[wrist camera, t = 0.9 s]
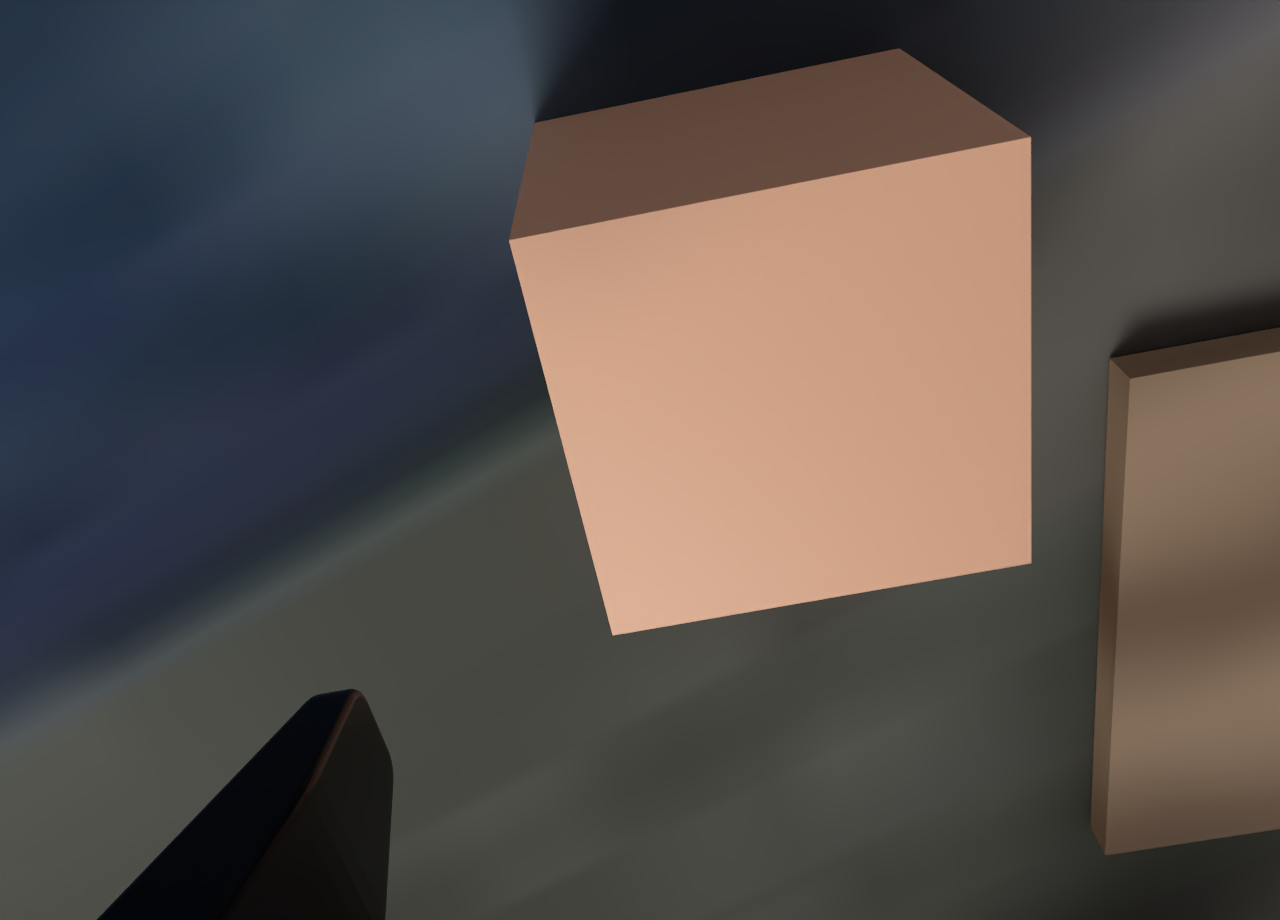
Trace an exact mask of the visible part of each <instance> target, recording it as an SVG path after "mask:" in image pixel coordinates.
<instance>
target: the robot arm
mask: <svg viewBox="0 0 1280 920" xmlns="http://www.w3.org/2000/svg"><path fill="white" fill-rule="evenodd" d="M392 796H393V767H392V761H391V757H390V754H389V751H388V749H387V746H386V744H385V742H384V739H383V737H382V735H381V732H380V730H379V728H378V725H377V723H376V721H375V718H374V716H373V714H372V712H371V709H370V707H369V705H368V702H367V700H366V698H365V697H364V696H363V694H362V693H361V692H360V691H357V690H355V689H347V690H341V691H335V692H330V693H324V694H319V695H316V696H313V697H312V698H310V699H309V700H308V701H307V702H306V703H305V704H304V705H303V706H302V707H301V708H300V709H299V710H298V711H297V712H296V713H295V714H294V715H293V716H292V717H291V718H290V719H289V720H288V721H287V722H286V723H285V724H284V725H283V726H282V728H281V729H280V730H279V731H278V732H277V733H276V734H275V735H274V736H273V737H272V738H271V739H270V740H269V741H268V742H267V743H266V744H265V745H264V746H263V747H262V748H261V749H260V750H259V751H258V752H257V754H256V755H255V756H254V757H253V758H252V759H251V760H250V761H249V762H248V763H247V764H246V765H245V766H244V767H243V768H242V769H241V770H240V771H239V772H238V773H237V774H236V775H235V776H234V777H233V778H232V780H231V781H230V782H229V783H228V784H227V785H226V786H225V787H224V788H223V789H222V790H221V791H220V792H219V793H218V794H217V795H216V796H215V797H214V798H213V799H212V800H211V801H210V802H209V803H208V804H207V806H206V807H205V808H204V809H203V810H202V811H201V812H200V813H199V814H198V815H197V816H196V817H195V818H194V819H193V820H192V821H191V822H190V823H189V824H188V825H187V826H186V827H185V828H184V829H183V830H182V832H181V833H180V834H179V835H178V836H177V837H176V838H175V839H174V840H173V841H172V842H171V843H170V844H169V845H168V846H167V847H166V848H165V849H164V850H163V851H162V852H161V853H160V854H159V855H158V856H157V858H156V859H155V860H154V861H153V862H152V863H151V864H150V865H149V866H148V867H147V868H146V869H145V870H144V871H143V872H142V873H141V874H140V875H139V876H138V877H137V878H136V879H135V880H134V881H133V882H132V884H131V885H130V886H129V887H128V888H127V889H126V890H125V891H124V892H123V893H122V894H121V895H120V896H119V897H118V898H117V899H116V900H115V901H114V902H113V903H112V904H111V905H110V906H109V907H108V908H107V910H106V911H105V912H104V913H103V914H102V915H101V916H100V917H99V918H98V919H97V920H385V916H386V899H387V882H388V865H389V848H390V830H391V813H392Z"/></svg>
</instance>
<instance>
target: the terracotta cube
mask: <svg viewBox="0 0 1280 920" xmlns="http://www.w3.org/2000/svg"><path fill="white" fill-rule="evenodd" d="M509 242H510V246H511V250H512V254H513V257H514V261H515V265H516V269H517V273H518V276H519V280H520V284H521V288H522V292H523V295H524V299H525V303H526V307H527V311H528V315H529V318H530V322H531V326H532V330H533V334H534V337H535V341H536V345H537V349H538V353H539V356H540V360H541V364H542V368H543V372H544V375H545V379H546V383H547V387H548V391H549V395H550V398H551V402H552V406H553V410H554V414H555V417H556V421H557V425H558V429H559V433H560V436H561V440H562V444H563V448H564V452H565V455H566V459H567V463H568V467H569V471H570V474H571V478H572V482H573V486H574V490H575V494H576V497H577V501H578V505H579V509H580V513H581V516H582V520H583V524H584V528H585V532H586V535H587V539H588V543H589V547H590V551H591V554H592V558H593V562H594V566H595V570H596V574H597V577H598V581H599V585H600V589H601V593H602V596H603V600H604V604H605V608H606V612H607V615H608V619H609V623H610V627H611V631H612V634H613V635H618V634H624V633H630V632H635V631H641V630H647V629H653V628H659V627H664V626H670V625H676V624H682V623H688V622H693V621H699V620H705V619H711V618H717V617H722V616H728V615H734V614H740V613H746V612H751V611H757V610H763V609H769V608H775V607H780V606H786V605H792V604H798V603H803V602H809V601H815V600H821V599H827V598H832V597H838V596H844V595H850V594H856V593H861V592H867V591H873V590H879V589H885V588H890V587H896V586H902V585H908V584H914V583H919V582H925V581H931V580H937V579H943V578H948V577H954V576H960V575H966V574H972V573H977V572H983V571H989V570H995V569H1001V568H1006V567H1012V566H1018V565H1024V564H1029V563H1031V137H1030V136H1029V135H1027V134H1026V133H1024V132H1023V131H1021V130H1020V129H1018V128H1017V127H1015V126H1014V125H1013V124H1011V123H1010V122H1008V121H1007V120H1005V119H1004V118H1002V117H1001V116H999V115H998V114H996V113H995V112H993V111H992V110H990V109H989V108H987V107H986V106H984V105H983V104H981V103H980V102H978V101H977V100H975V99H974V98H972V97H971V96H969V95H968V94H966V93H965V92H964V91H962V90H961V89H959V88H958V87H956V86H955V85H953V84H952V83H950V82H949V81H947V80H946V79H944V78H943V77H941V76H940V75H938V74H937V73H935V72H934V71H932V70H931V69H929V68H928V67H926V66H925V65H923V64H922V63H920V62H919V61H917V60H916V59H914V58H913V57H912V56H910V55H909V54H907V53H906V52H904V51H903V50H901V49H900V48H898V49H893V50H888V51H883V52H879V53H874V54H869V55H864V56H859V57H854V58H849V59H844V60H839V61H835V62H830V63H825V64H820V65H815V66H810V67H805V68H800V69H796V70H791V71H786V72H781V73H776V74H771V75H766V76H761V77H756V78H752V79H747V80H742V81H737V82H732V83H727V84H722V85H717V86H712V87H708V88H703V89H698V90H693V91H688V92H683V93H678V94H673V95H668V96H664V97H659V98H654V99H649V100H644V101H639V102H634V103H629V104H625V105H620V106H615V107H610V108H605V109H600V110H595V111H590V112H585V113H581V114H576V115H571V116H566V117H561V118H556V119H551V120H546V121H541V122H537V123H534V127H533V132H532V136H531V141H530V146H529V150H528V155H527V159H526V164H525V169H524V173H523V178H522V183H521V187H520V192H519V196H518V201H517V206H516V210H515V215H514V220H513V224H512V229H511V233H510V238H509Z"/></svg>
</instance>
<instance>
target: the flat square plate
mask: <svg viewBox="0 0 1280 920" xmlns="http://www.w3.org/2000/svg"><path fill="white" fill-rule="evenodd" d="M1090 827H1091V829H1092V831H1093V833H1094V835H1095V837H1096V839H1097V841H1098V843H1099V845H1100V847H1101V849H1102V851H1103V853H1104V855H1105V856H1106V855H1112V854H1119V853H1125V852H1132V851H1138V850H1145V849H1152V848H1158V847H1165V846H1171V845H1178V844H1184V843H1191V842H1197V841H1204V840H1210V839H1217V838H1223V837H1230V836H1236V835H1243V834H1249V833H1256V832H1262V831H1269V830H1275V829H1280V327H1279V328H1273V329H1268V330H1262V331H1257V332H1251V333H1246V334H1240V335H1235V336H1229V337H1224V338H1219V339H1213V340H1208V341H1202V342H1197V343H1191V344H1186V345H1180V346H1175V347H1169V348H1164V349H1158V350H1153V351H1147V352H1142V353H1137V354H1131V355H1126V356H1120V357H1115V358H1110V363H1109V388H1108V412H1107V436H1106V460H1105V485H1104V509H1103V533H1102V557H1101V582H1100V606H1099V630H1098V654H1097V679H1096V703H1095V727H1094V751H1093V775H1092V800H1091V824H1090Z"/></svg>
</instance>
